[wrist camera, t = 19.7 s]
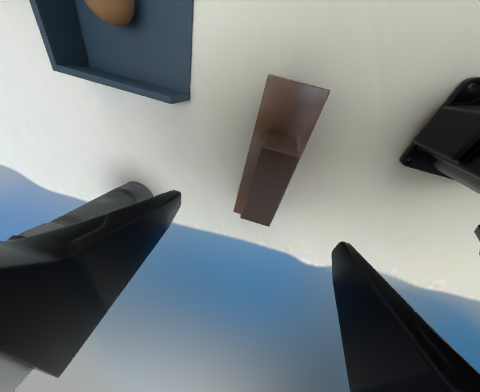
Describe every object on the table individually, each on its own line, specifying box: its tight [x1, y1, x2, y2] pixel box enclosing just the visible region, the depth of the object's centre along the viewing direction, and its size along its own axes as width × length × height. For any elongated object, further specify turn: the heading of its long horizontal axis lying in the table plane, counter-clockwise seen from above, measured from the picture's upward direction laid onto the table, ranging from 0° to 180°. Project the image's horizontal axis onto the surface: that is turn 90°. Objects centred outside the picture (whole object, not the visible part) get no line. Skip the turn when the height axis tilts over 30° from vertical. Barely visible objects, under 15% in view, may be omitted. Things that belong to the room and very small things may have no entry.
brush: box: [234, 74, 330, 227], centre depth 15 cm, size 4×13×7 cm, turn 168°
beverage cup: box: [7, 182, 153, 241], centre depth 17 cm, size 7×7×20 cm
